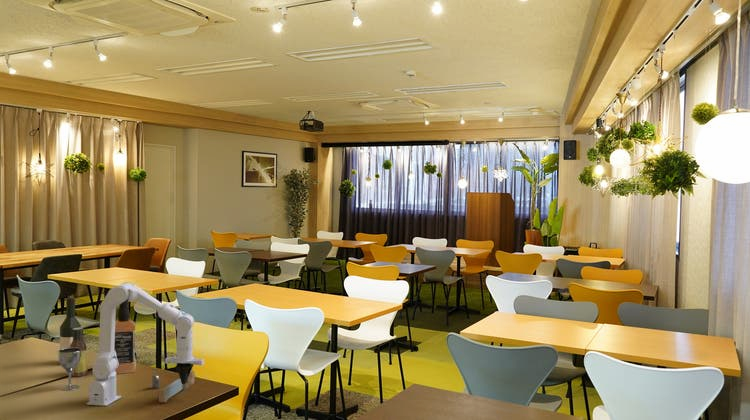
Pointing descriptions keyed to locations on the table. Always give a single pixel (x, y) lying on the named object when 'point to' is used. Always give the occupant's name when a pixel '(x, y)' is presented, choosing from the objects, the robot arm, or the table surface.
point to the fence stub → (190, 379)
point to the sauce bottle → (80, 343)
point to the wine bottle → (68, 324)
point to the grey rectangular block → (170, 390)
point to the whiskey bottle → (125, 340)
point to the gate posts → (156, 382)
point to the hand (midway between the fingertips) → (184, 383)
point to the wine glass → (69, 364)
